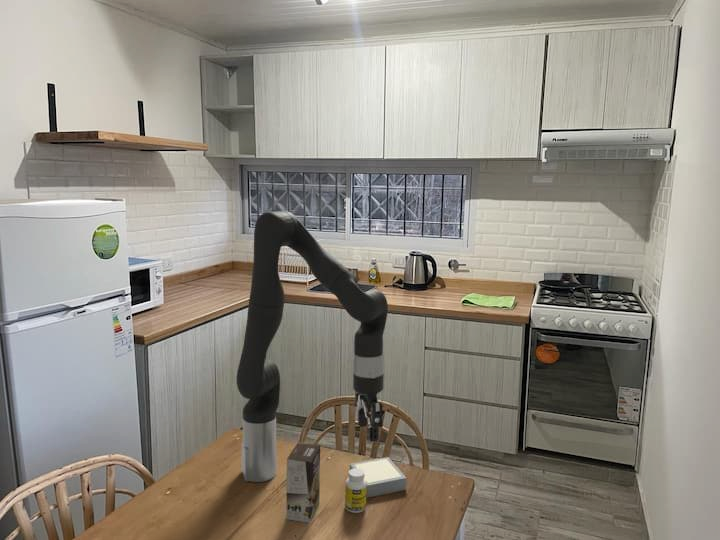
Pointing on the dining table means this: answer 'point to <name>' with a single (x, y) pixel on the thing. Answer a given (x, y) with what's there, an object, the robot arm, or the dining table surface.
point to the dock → (381, 476)
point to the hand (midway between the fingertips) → (367, 433)
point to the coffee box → (303, 482)
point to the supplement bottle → (355, 491)
